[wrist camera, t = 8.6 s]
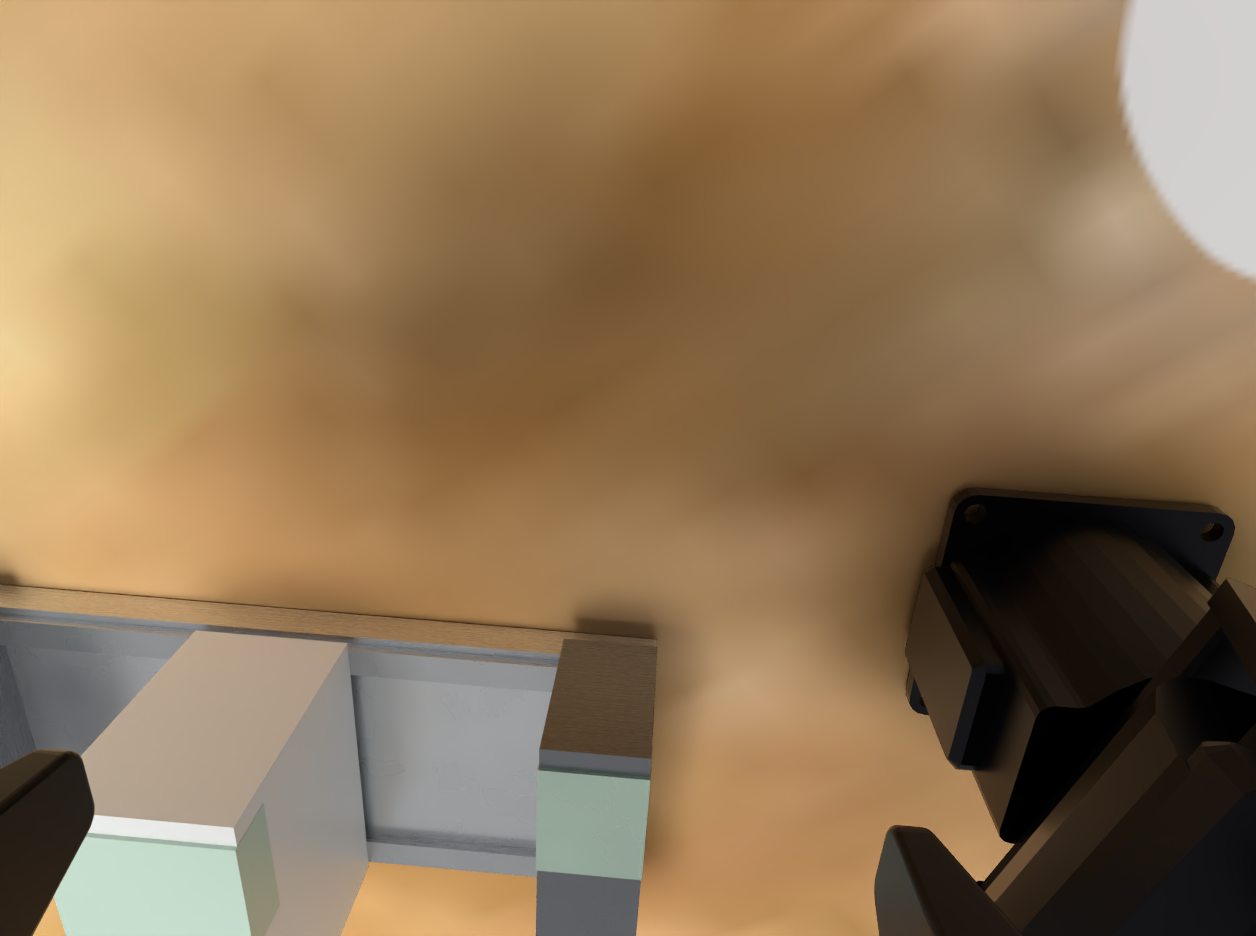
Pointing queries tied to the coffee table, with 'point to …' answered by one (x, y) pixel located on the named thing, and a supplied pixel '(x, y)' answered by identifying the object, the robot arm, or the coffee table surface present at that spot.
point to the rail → (400, 731)
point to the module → (225, 798)
